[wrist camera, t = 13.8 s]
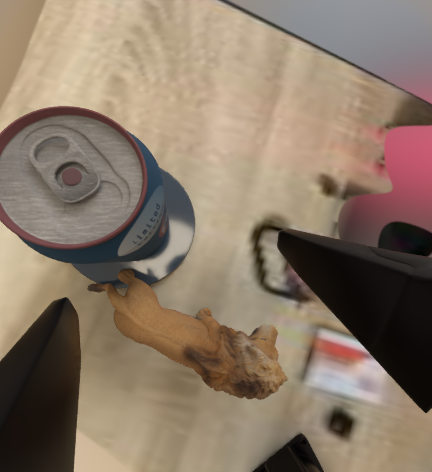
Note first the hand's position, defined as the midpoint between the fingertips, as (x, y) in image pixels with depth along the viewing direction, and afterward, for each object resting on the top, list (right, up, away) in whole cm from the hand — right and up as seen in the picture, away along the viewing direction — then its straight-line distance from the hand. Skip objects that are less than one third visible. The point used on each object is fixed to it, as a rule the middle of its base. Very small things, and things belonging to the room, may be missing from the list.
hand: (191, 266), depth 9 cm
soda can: (-7, +2, +11) cm, 13 cm away
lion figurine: (-3, -6, +11) cm, 13 cm away
